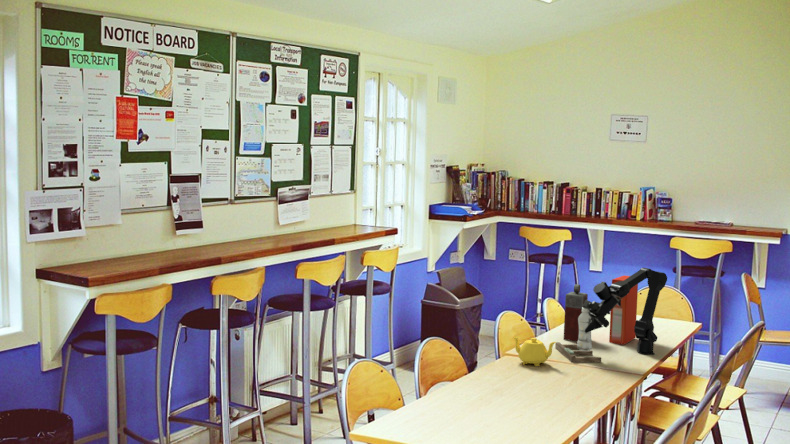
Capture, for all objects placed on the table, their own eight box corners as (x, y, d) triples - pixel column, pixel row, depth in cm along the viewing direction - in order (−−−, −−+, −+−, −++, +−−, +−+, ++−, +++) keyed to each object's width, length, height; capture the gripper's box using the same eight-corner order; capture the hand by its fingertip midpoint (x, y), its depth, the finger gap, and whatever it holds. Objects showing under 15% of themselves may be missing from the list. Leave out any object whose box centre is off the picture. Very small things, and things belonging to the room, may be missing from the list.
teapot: (560, 362, 349) (561, 337, 348) (550, 370, 336) (551, 344, 335) (517, 356, 358) (518, 331, 357) (506, 363, 345) (507, 338, 344)
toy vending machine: (585, 342, 387) (588, 287, 385) (563, 339, 393) (566, 284, 390) (590, 339, 395) (592, 284, 393) (568, 336, 401) (571, 282, 398)
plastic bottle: (592, 353, 353) (594, 309, 351) (576, 352, 354) (578, 308, 352) (591, 349, 359) (593, 306, 357) (576, 348, 361) (578, 306, 359)
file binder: (608, 342, 389) (612, 279, 387) (619, 336, 404) (623, 275, 401) (624, 345, 385) (628, 281, 382) (635, 338, 399) (638, 277, 396)
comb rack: (583, 348, 375) (583, 340, 375) (601, 362, 351) (601, 354, 351) (555, 348, 374) (555, 340, 374) (571, 362, 350) (571, 353, 350)
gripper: (586, 290, 364) (563, 314, 363) (603, 298, 346) (579, 322, 345) (601, 306, 366) (578, 330, 365) (619, 315, 348) (595, 339, 347)
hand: (582, 330), depth 356 cm, fingers closed on plastic bottle, 6 cm apart
